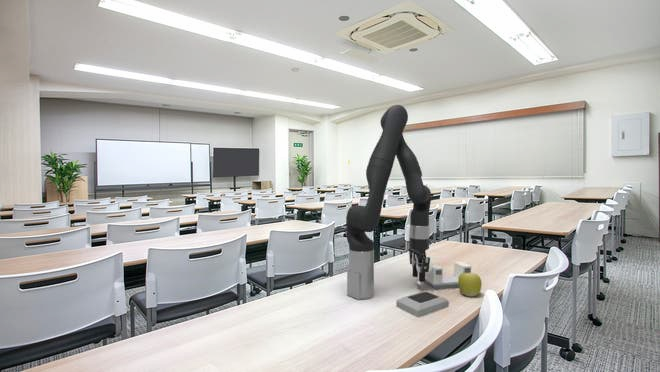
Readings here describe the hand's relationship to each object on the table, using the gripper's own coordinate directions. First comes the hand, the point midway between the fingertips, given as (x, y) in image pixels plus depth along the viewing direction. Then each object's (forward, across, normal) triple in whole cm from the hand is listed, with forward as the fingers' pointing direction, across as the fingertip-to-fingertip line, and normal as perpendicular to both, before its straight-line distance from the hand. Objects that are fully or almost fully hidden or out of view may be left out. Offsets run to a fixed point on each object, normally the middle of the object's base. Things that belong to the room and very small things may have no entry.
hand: (418, 278), depth 126 cm
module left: (+2, +1, -7) cm, 8 cm away
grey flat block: (+4, -16, +6) cm, 18 cm away
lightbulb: (+3, 0, 0) cm, 3 cm away
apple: (+4, -9, -16) cm, 19 cm away
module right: (+1, +2, -20) cm, 20 cm away
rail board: (+4, +2, -14) cm, 14 cm away
